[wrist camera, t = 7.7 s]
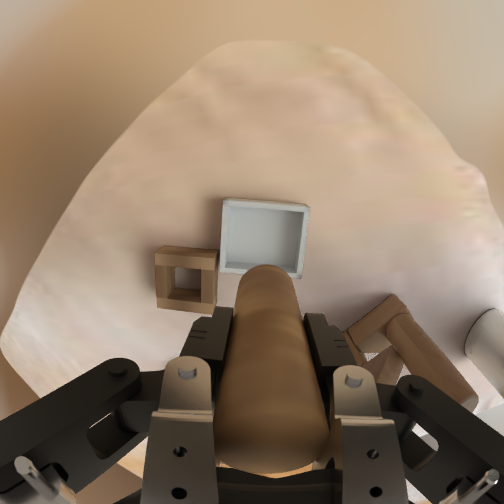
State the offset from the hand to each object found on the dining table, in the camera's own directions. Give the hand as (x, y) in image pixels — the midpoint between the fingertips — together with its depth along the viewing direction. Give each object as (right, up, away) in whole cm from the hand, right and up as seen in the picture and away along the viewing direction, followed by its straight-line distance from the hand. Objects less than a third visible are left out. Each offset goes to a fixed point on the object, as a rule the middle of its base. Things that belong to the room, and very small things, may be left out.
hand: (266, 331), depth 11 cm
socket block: (-7, +1, +19) cm, 20 cm away
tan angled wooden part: (+13, -6, +21) cm, 25 cm away
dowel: (0, +1, +4) cm, 4 cm away
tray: (+1, +5, +18) cm, 18 cm away
